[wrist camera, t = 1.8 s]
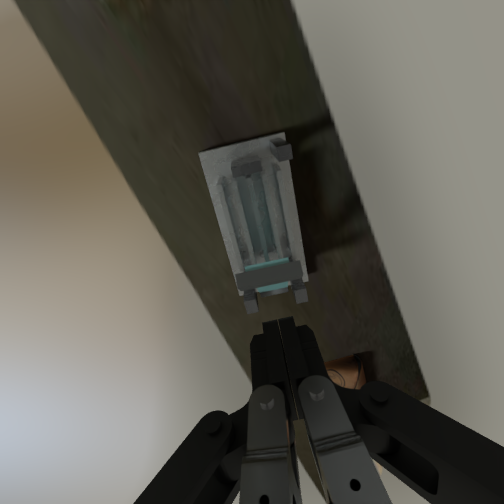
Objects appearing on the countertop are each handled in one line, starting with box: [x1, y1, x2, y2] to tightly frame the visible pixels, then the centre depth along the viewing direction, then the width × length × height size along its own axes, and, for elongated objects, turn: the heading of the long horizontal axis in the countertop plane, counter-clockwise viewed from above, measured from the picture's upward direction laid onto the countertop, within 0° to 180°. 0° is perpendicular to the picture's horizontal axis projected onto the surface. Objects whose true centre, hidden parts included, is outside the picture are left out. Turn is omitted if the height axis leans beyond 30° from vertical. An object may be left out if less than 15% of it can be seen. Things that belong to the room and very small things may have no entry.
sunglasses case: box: [324, 354, 366, 389], centre depth 48 cm, size 18×7×7 cm
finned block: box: [198, 131, 308, 314], centre depth 31 cm, size 18×9×8 cm, turn 13°
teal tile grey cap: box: [235, 257, 303, 297], centre depth 26 cm, size 14×4×2 cm
